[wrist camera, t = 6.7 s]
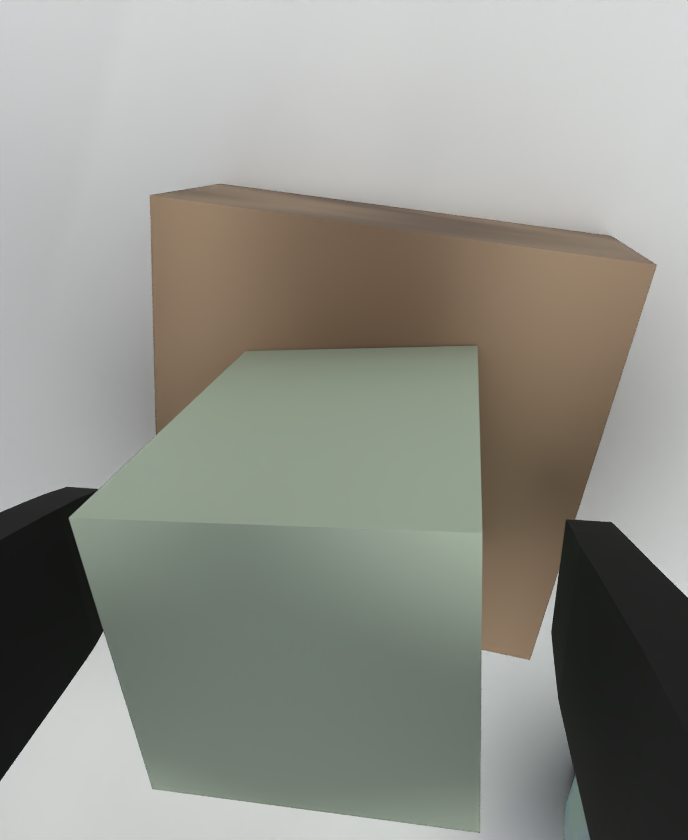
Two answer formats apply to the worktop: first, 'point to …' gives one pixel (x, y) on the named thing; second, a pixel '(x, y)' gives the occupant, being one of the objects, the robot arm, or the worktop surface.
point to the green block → (305, 585)
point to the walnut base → (417, 339)
